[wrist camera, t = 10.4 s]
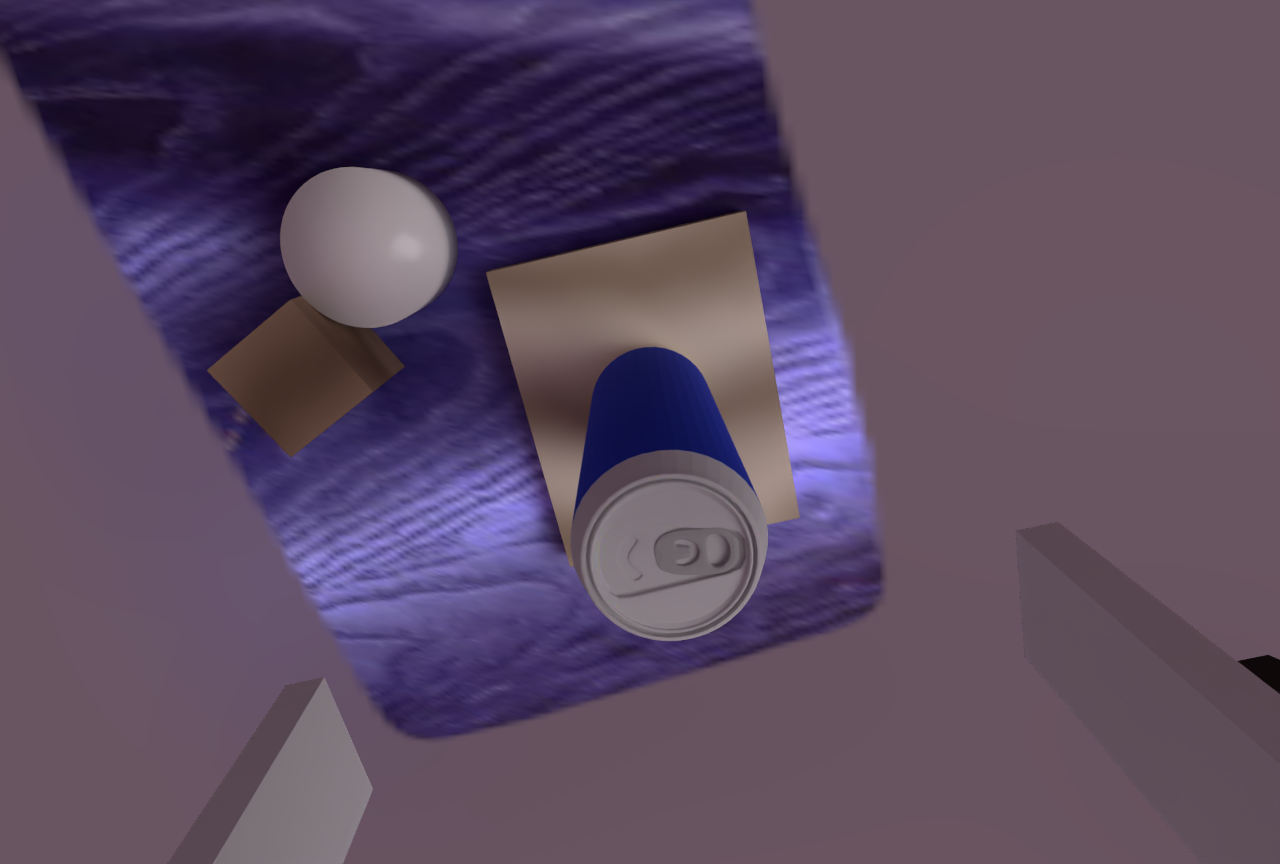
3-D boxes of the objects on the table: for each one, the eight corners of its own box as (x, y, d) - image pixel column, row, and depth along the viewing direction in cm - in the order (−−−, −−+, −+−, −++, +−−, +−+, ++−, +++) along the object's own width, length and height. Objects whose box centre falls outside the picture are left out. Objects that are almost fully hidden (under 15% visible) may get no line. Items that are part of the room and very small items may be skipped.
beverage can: (599, 463, 34) (582, 660, 19) (584, 350, 32) (553, 475, 18) (713, 450, 34) (780, 639, 19) (704, 337, 32) (769, 451, 18)
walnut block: (260, 347, 33) (206, 370, 29) (334, 285, 32) (290, 299, 28) (332, 424, 34) (290, 457, 30) (405, 366, 33) (373, 391, 29)
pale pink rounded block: (295, 188, 31) (255, 188, 28) (433, 154, 31) (409, 149, 27) (345, 327, 33) (313, 343, 30) (475, 296, 33) (458, 308, 29)
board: (490, 269, 32) (485, 272, 31) (741, 210, 32) (745, 211, 30) (571, 554, 36) (570, 566, 35) (794, 507, 36) (799, 517, 35)
